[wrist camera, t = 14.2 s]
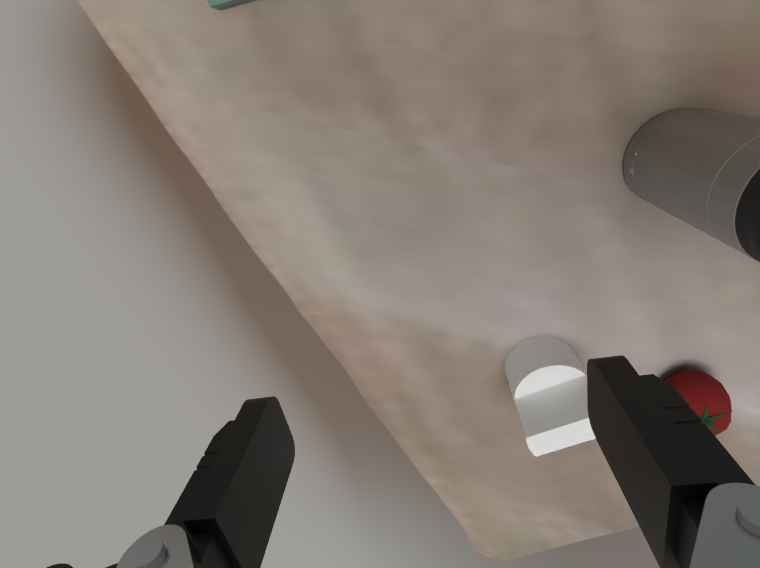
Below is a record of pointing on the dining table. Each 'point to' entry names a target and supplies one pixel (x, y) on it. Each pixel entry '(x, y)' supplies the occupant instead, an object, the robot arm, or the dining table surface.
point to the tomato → (704, 398)
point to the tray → (226, 3)
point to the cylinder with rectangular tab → (549, 394)
